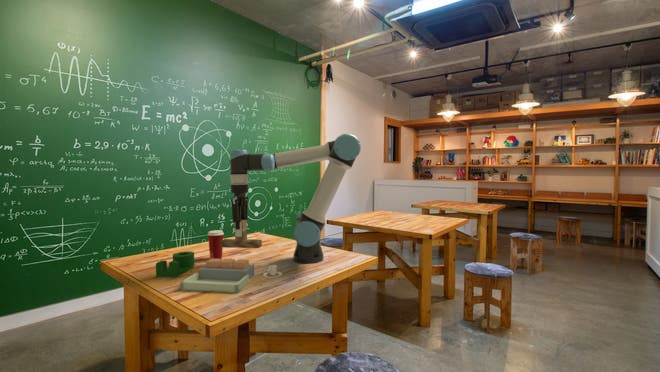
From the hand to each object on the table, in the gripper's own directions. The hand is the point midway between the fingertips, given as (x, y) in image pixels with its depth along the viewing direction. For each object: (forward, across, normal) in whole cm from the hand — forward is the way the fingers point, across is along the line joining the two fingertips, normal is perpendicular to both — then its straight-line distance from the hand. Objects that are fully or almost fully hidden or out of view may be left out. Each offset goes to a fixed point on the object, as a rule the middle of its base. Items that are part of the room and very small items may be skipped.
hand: (240, 235), depth 147 cm
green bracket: (+15, +7, -27) cm, 31 cm away
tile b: (+10, +13, 0) cm, 17 cm away
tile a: (+11, +13, +6) cm, 18 cm away
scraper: (+5, 0, 0) cm, 5 cm away
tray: (+15, +24, -1) cm, 28 cm away
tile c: (+10, +13, -6) cm, 18 cm away
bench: (+15, +14, -1) cm, 20 cm away
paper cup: (+15, -12, -19) cm, 27 cm away
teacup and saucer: (+16, +5, +19) cm, 25 cm away
